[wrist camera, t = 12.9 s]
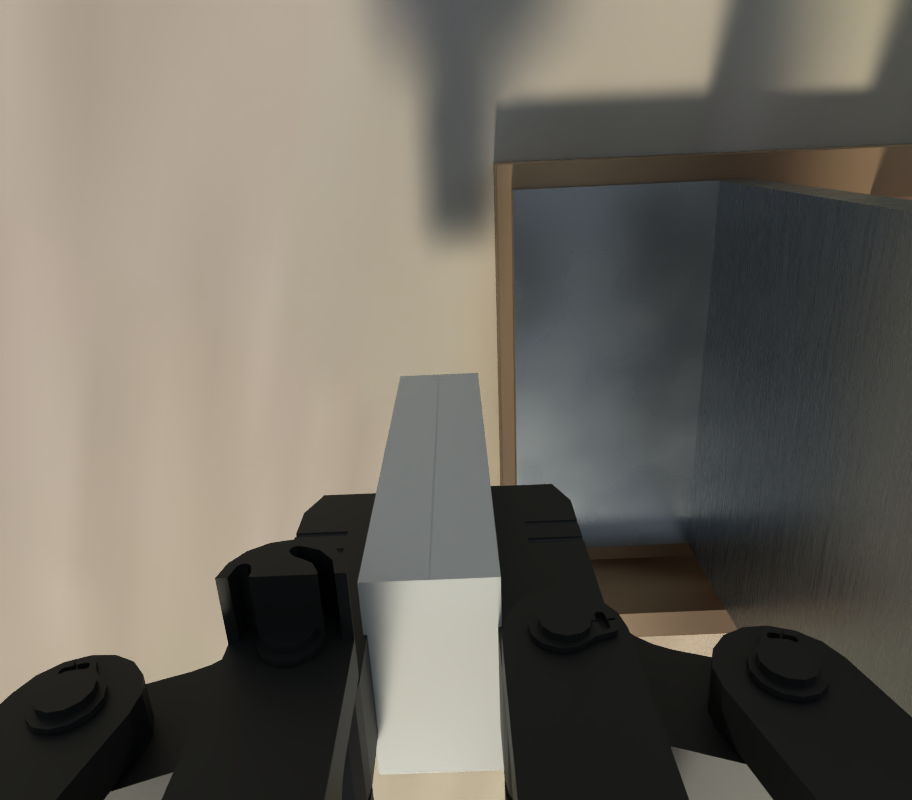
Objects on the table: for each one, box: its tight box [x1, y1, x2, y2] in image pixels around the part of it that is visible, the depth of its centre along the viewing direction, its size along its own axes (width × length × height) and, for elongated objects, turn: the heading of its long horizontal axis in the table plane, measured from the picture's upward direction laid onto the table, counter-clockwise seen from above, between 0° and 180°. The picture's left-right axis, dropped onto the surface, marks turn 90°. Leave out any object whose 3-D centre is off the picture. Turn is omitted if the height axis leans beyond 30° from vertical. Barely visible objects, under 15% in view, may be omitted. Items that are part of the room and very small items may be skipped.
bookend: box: [511, 178, 912, 717], centre depth 12 cm, size 5×9×10 cm, turn 2°
